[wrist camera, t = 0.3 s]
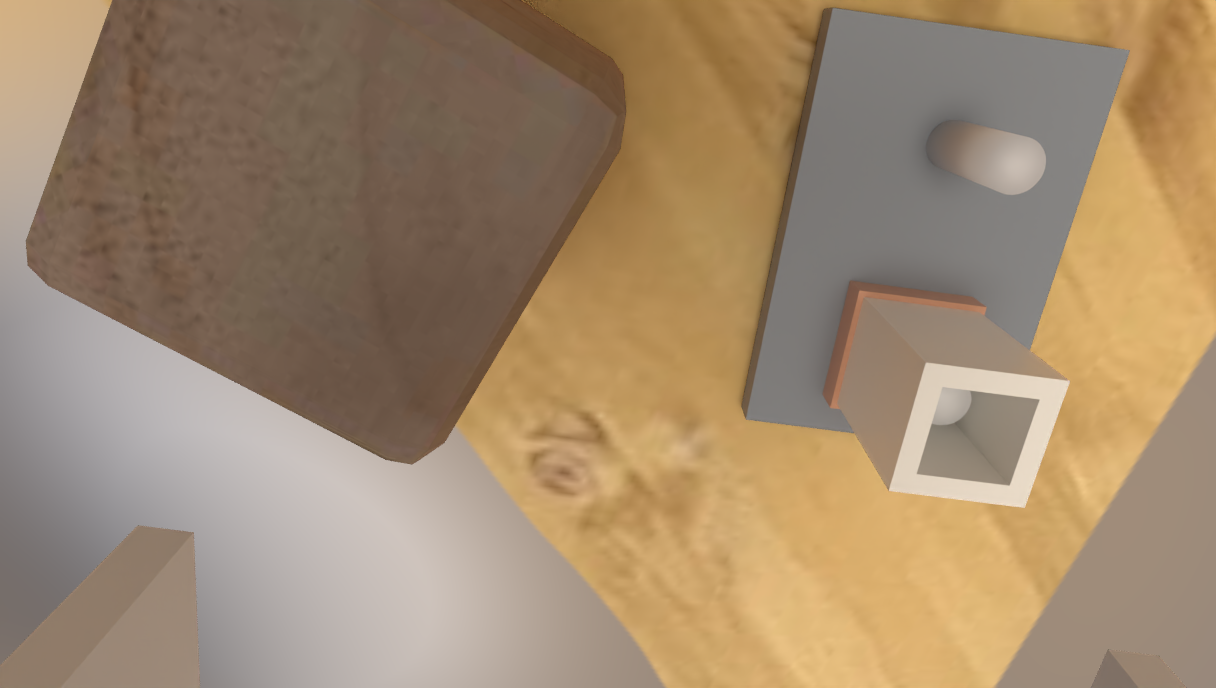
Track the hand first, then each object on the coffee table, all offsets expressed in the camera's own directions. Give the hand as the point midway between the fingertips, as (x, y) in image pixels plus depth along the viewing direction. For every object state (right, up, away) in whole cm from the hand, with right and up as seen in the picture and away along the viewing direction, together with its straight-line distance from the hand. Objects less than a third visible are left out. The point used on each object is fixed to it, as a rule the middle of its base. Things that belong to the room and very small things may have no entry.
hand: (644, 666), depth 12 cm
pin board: (+13, +9, +25) cm, 30 cm away
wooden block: (-6, +15, +24) cm, 28 cm away
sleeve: (+12, +5, +25) cm, 28 cm away
